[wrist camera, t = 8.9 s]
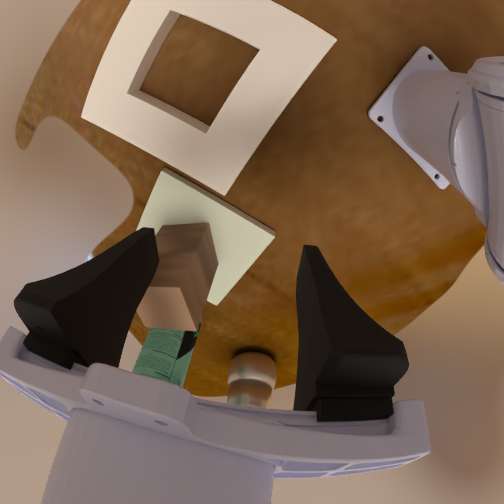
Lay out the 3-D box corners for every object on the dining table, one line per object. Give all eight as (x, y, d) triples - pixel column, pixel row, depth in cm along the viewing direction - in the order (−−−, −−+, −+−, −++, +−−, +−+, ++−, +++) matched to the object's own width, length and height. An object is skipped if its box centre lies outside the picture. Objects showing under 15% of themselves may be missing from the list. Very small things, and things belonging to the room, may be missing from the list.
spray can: (160, 321, 35) (107, 462, 19) (160, 293, 31) (94, 454, 15) (199, 332, 35) (159, 480, 19) (204, 306, 32) (155, 478, 16)
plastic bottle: (221, 355, 38) (192, 490, 22) (255, 339, 34) (232, 496, 18) (253, 373, 40) (235, 498, 24) (288, 360, 36) (276, 501, 21)
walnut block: (209, 222, 24) (179, 287, 17) (218, 263, 26) (197, 331, 20) (162, 225, 24) (122, 285, 18) (175, 264, 27) (145, 326, 21)
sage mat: (275, 231, 24) (275, 236, 24) (218, 300, 31) (216, 305, 30) (165, 167, 22) (161, 170, 21) (130, 252, 28) (126, 256, 27)
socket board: (332, 42, 14) (337, 39, 13) (229, 185, 22) (224, 196, 21) (167, -32, 11) (157, -39, 10) (94, 111, 19) (80, 117, 17)
